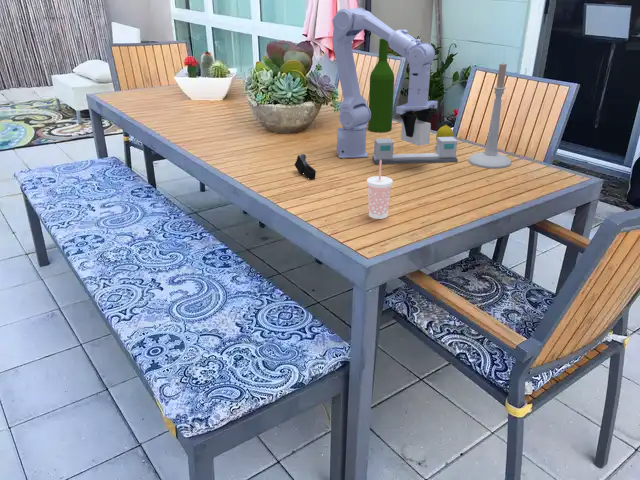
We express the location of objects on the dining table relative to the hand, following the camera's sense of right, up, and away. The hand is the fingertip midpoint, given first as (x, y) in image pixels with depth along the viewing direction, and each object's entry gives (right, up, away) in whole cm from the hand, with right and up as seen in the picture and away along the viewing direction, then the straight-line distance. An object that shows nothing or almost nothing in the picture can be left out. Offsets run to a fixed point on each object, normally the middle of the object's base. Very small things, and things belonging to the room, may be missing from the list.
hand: (415, 135), depth 159 cm
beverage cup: (-14, -25, -29) cm, 41 cm away
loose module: (0, -2, +1) cm, 2 cm away
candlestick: (+25, -7, +8) cm, 27 cm away
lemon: (+14, 0, +22) cm, 26 cm away
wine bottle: (-6, +11, +45) cm, 47 cm away
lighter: (-33, -12, -2) cm, 35 cm away
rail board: (+1, -6, +10) cm, 12 cm away
